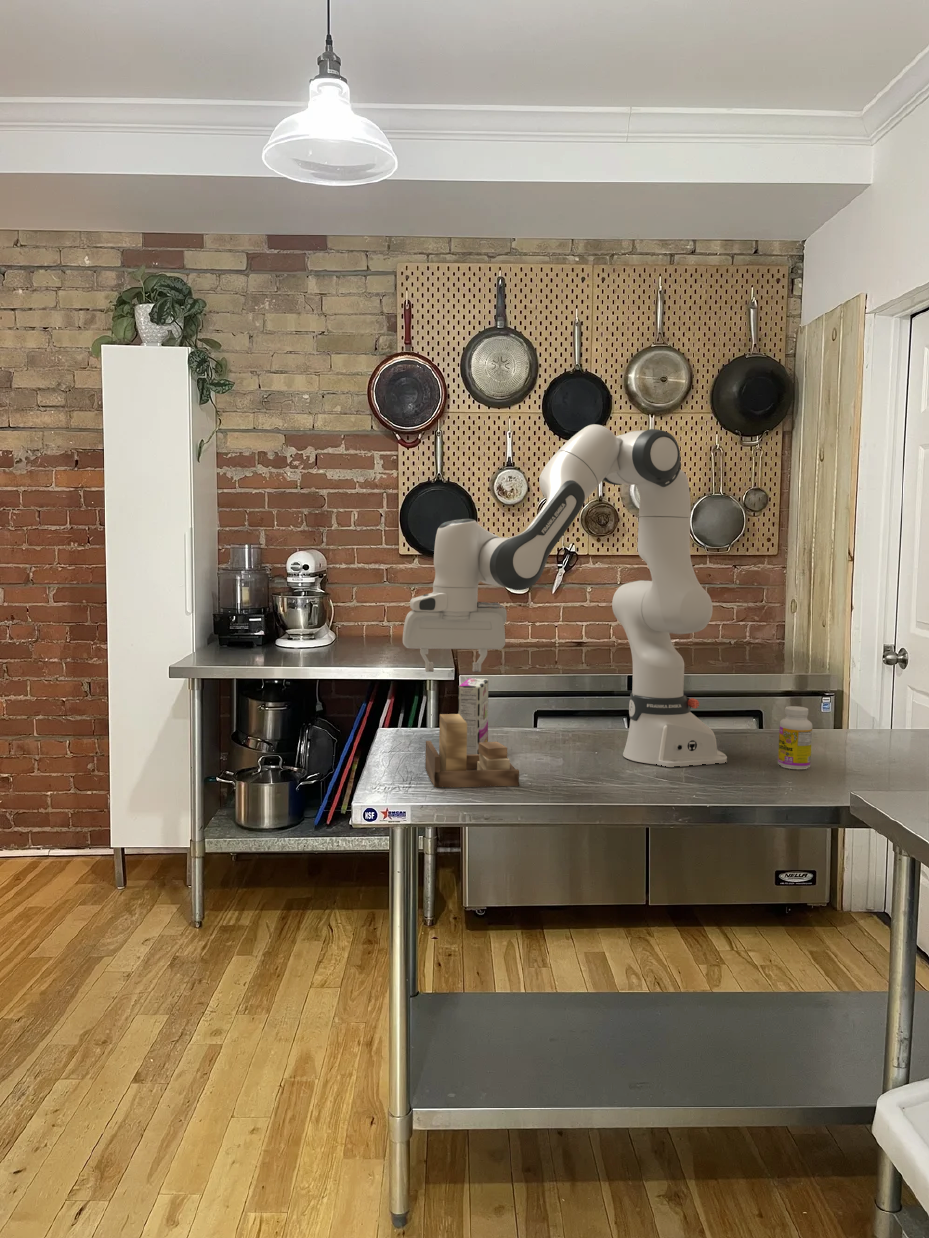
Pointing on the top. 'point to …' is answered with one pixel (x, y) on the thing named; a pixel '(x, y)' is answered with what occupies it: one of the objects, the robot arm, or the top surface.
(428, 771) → the rack
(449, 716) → the light brown wooden block
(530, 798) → the top surface
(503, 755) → the offcut top
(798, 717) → the supplement bottle
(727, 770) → the top surface
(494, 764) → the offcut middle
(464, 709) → the candy bar box
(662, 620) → the robot arm
